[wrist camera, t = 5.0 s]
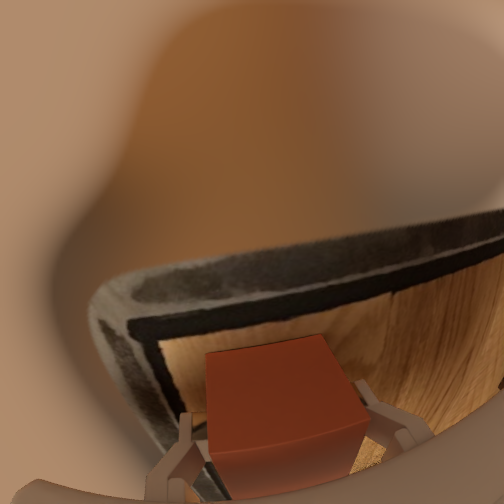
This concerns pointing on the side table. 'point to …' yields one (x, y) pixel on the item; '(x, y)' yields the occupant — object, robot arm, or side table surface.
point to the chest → (501, 385)
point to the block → (281, 417)
